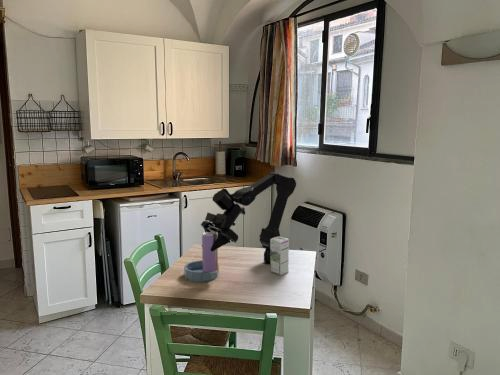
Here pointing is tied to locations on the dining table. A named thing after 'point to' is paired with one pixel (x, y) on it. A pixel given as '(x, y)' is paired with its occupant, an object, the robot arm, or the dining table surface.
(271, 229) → the robot arm
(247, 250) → the dining table surface
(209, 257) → the beverage can
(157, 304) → the dining table surface
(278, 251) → the syrup box
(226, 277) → the dining table surface
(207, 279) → the bowl
